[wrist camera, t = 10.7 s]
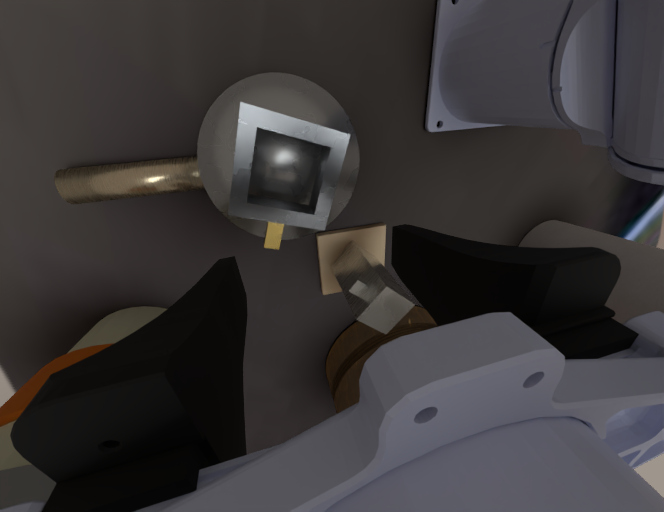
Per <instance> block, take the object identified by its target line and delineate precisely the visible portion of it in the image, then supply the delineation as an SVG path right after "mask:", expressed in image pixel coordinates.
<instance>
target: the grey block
mask: <svg viewBox="0 0 664 512" xmlns="http://www.w3.org/2000/svg"><path fill="white" fill-rule="evenodd" d="M330 267H331V269H332V271H333V273H334V275H335V277H336V279H337V281H338V283H339V285H340V287H341V289H342V291H343V293H344V295H345V297H346V299H347V301H348V303H349V306H350V308H351V310H352V312H353V314H354V316H355V318H356V320H358V321H360V322H362V323H364V324H366V325H368V326H370V327H372V328H374V329H376V330H378V331H380V332H382V333H384V334H387V333H388V332H389V331H390V330H391V329H392V328H393V327H394V326H395V325H396V324H397V323H398V322H399V321H400V320H401V319H402V318H403V317H404V316H405V315H406V314H407V313H408V312H409V311H410V310H411V308H412V307H413V306H414V305H415V304H414V302H413V301H412V300H411V299H410V298H409V296H408V295H407V294H406V293H405V292H404V290H403V289H402V288H401V287H400V285H399V284H398V283H397V282H396V281H395V279H394V278H393V277H392V276H391V275H390V273H389V272H388V271H387V270H386V268H385V267H384V266H383V265H382V264H381V262H380V261H379V260H378V259H377V258H376V256H374V255H373V254H371V253H370V252H368V251H367V250H366V249H364V248H363V247H361V246H360V245H358V244H357V243H356V242H354V241H353V240H352V241H351V242H350V243H349V245H348V246H347V247H346V248H345V249H344V251H343V252H342V253H341V254H340V255H339V257H338V258H337V259H336V260H335V261H334V263H333V264H332V265H331V266H330Z"/></svg>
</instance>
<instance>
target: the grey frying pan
mask: <svg viewBox="0 0 664 512" xmlns="http://www.w3.org/2000/svg"><path fill="white" fill-rule="evenodd" d="M240 102H243V103H246V104H250V105H253V106H257V107H260V108H263V109H267V110H270V111H273V112H277V113H280V114H283V115H287V116H290V117H293V118H297V119H300V120H303V121H307V122H310V123H314V124H317V125H320V126H324V127H327V128H330V129H334V130H337V131H340V132H344V133H347V134H350V139H349V142H348V146H347V150H346V153H345V157H344V161H343V165H342V168H341V172H340V176H339V179H338V183H337V187H336V190H335V194H334V198H333V201H332V205H331V209H330V212H329V216H328V220H327V224H326V226H327V225H328V224H329V223H331V222H332V221H333V220H334V219H335V218H336V217H337V216H338V215H339V214H340V213H341V212H342V210H343V209H344V208H345V206H346V205H347V203H348V201H349V200H350V198H351V196H352V193H353V191H354V189H355V186H356V182H357V179H358V173H359V161H360V158H359V147H358V142H357V137H356V134H355V131H354V128H353V126H352V124H351V122H350V119H349V117H348V116H347V114H346V113H345V111H344V109H343V108H342V107H341V106H340V104H339V103H338V102H337V101H336V99H335V98H333V97H332V96H331V95H330V94H329V93H328V92H327V91H326V90H324V89H323V88H321V87H320V86H319V85H317V84H315V83H313V82H311V81H309V80H308V79H305V78H302V77H299V76H297V75H292V74H287V73H275V72H270V73H262V74H257V75H253V76H250V77H247V78H245V79H242V80H240V81H238V82H236V83H235V84H233V85H232V86H230V87H229V88H227V89H226V90H225V91H224V92H223V93H222V94H221V95H220V96H219V97H218V98H217V99H216V100H215V102H214V103H213V104H212V105H211V107H210V108H209V110H208V112H207V114H206V116H205V118H204V120H203V123H202V126H201V129H200V132H199V138H198V145H197V156H193V157H183V158H172V159H162V160H152V161H141V162H131V163H121V164H110V165H100V166H90V167H79V168H69V169H60V170H58V171H56V173H55V177H54V180H55V185H56V188H57V190H58V192H59V194H60V195H61V196H62V197H63V199H64V200H66V201H67V202H68V203H71V204H82V203H90V202H99V201H107V200H116V199H124V198H132V197H141V196H149V195H158V194H166V193H175V192H183V191H191V190H200V189H206V191H207V193H208V195H209V197H210V199H211V200H212V202H213V203H214V205H215V206H216V207H217V208H218V210H219V211H220V212H221V213H222V214H223V215H224V216H225V217H226V218H227V219H228V220H229V221H231V222H232V223H233V224H235V225H236V226H238V227H239V228H241V229H243V230H245V231H247V232H249V233H251V234H254V235H256V236H260V237H263V238H265V232H266V226H267V221H261V220H255V219H249V218H242V217H236V216H230V215H228V210H229V201H230V192H231V183H232V174H233V165H234V156H235V147H236V138H237V129H238V119H239V110H240ZM322 146H323V145H321V144H317V143H313V142H310V141H306V140H302V139H299V138H295V137H291V136H288V135H284V134H281V133H277V132H273V131H270V130H266V129H262V128H259V127H257V131H256V138H255V145H254V152H253V160H252V167H251V174H250V182H249V189H248V194H253V195H258V196H263V197H269V198H274V199H279V200H284V201H290V202H295V203H300V204H306V205H309V202H310V197H311V193H312V189H313V185H314V180H315V176H316V172H317V168H318V163H319V159H320V155H321V151H322ZM317 231H319V230H317V229H311V228H305V227H298V226H292V225H286V224H284V227H283V232H282V237H281V240H288V239H296V238H301V237H305V236H307V235H310V234H313V233H315V232H317Z"/></svg>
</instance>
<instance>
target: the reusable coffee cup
mask: <svg viewBox="0 0 664 512" xmlns="http://www.w3.org/2000/svg"><path fill="white" fill-rule="evenodd" d="M166 310H167V309H165V308H160V307H148V306H141V307H131V308H127V309H123V310H119V311H116V312H114V313H112V314H109V315H107V316H106V317H104V318H103V319H101V320H100V321H99V322H98V323H97V324H96V325H95V326H94V327H93V328H92V329H91V330H90V331H89V332H88V333H87V334H86V335H85V336H84V337H83V338H82V339H81V340H80V341H79V342H78V343H77V344H76V345H75V346H74V347H73V348H72V349H71V350H70V351H69V352H68V353H67V354H65V355H62V356H60V357H58V358H56V359H54V360H53V361H51V362H50V363H48V364H47V365H45V366H44V367H42V368H41V369H40V370H39V371H38V372H37V373H36V374H35V375H34V376H33V377H32V378H31V379H30V380H29V381H28V382H27V383H26V384H25V385H24V386H22V387H21V388H20V389H19V390H18V391H17V392H16V393H15V394H14V395H13V396H12V397H11V398H10V399H9V400H8V401H7V402H6V403H5V404H4V405H3V406H2V407H1V408H0V509H3V508H7V507H10V506H13V505H16V504H20V503H23V502H28V501H33V500H37V501H46V502H47V501H48V499H49V497H50V495H51V493H52V491H53V489H54V487H55V485H56V482H55V481H53V480H52V479H51V478H49V477H48V476H47V475H45V474H44V473H43V472H41V471H40V470H39V469H37V468H36V467H35V466H33V465H32V464H31V463H30V462H28V461H27V460H26V459H24V458H23V457H22V456H21V455H20V454H19V453H18V452H17V451H16V449H15V448H14V447H13V444H12V440H11V437H10V434H11V430H12V427H13V424H14V423H15V421H16V420H17V419H18V417H19V416H20V415H21V413H22V412H23V411H24V409H25V408H26V407H27V405H28V404H29V403H30V402H31V400H32V399H33V398H34V396H35V395H36V394H37V392H38V391H39V390H40V388H41V387H42V386H43V384H44V383H45V382H46V380H47V379H48V378H49V376H50V375H51V374H53V373H55V372H57V371H60V370H62V369H64V368H66V367H68V366H70V365H72V364H74V363H76V362H79V361H81V360H83V359H85V358H87V357H89V356H91V355H93V354H95V353H97V352H99V351H101V350H103V349H105V348H107V347H109V346H110V345H112V344H114V343H116V342H118V341H120V340H121V339H123V338H125V337H126V336H128V335H130V334H132V333H133V332H135V331H136V330H138V329H139V328H141V327H142V326H144V325H145V324H147V323H149V322H150V321H152V320H153V319H155V318H156V317H158V316H159V315H160V314H162V313H163V312H164V311H166Z"/></svg>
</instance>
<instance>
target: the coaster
mask: <svg viewBox="0 0 664 512" xmlns="http://www.w3.org/2000/svg"><path fill="white" fill-rule="evenodd" d="M385 237H386V225H385V224H384V223H378V224H372V225H366V226H360V227H353V228H347V229H341V230H335V231H328V232H322V233H316V238H317V249H318V259H319V269H320V280H321V290H322V294H323V295H326V294H331V293H336V292H341V291H342V289H341V287H340V285H339V283H338V281H337V279H336V277H335V275H334V273H333V271H332V269H331V267H330V266H331V265H332V264H333V263H334V261H335V260H336V259H337V258H338V257H339V255H340V254H341V253H342V252H343V251H344V249H345V248H346V247H347V246H348V245H349V243H350V242H351V241H352V240H353V241H354V242H356V243H357V244H358V245H360V246H361V247H363V248H364V249H366V250H367V251H368V252H370V253H371V254H373V255H374V256H376V258H377V259H378V260H379V261H380V262H381V264H382V265H383V266H384V260H385Z"/></svg>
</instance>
